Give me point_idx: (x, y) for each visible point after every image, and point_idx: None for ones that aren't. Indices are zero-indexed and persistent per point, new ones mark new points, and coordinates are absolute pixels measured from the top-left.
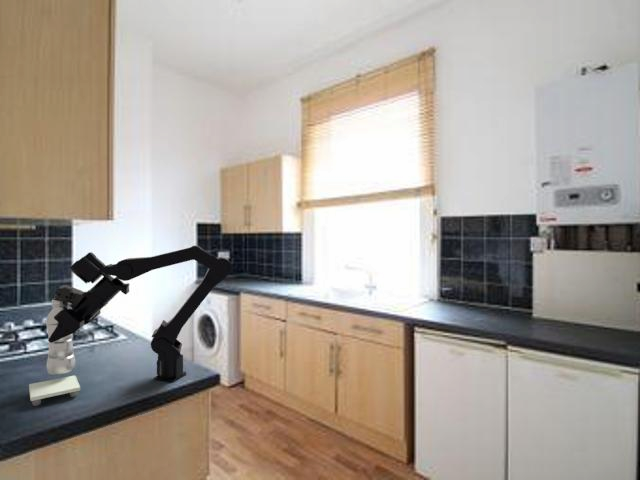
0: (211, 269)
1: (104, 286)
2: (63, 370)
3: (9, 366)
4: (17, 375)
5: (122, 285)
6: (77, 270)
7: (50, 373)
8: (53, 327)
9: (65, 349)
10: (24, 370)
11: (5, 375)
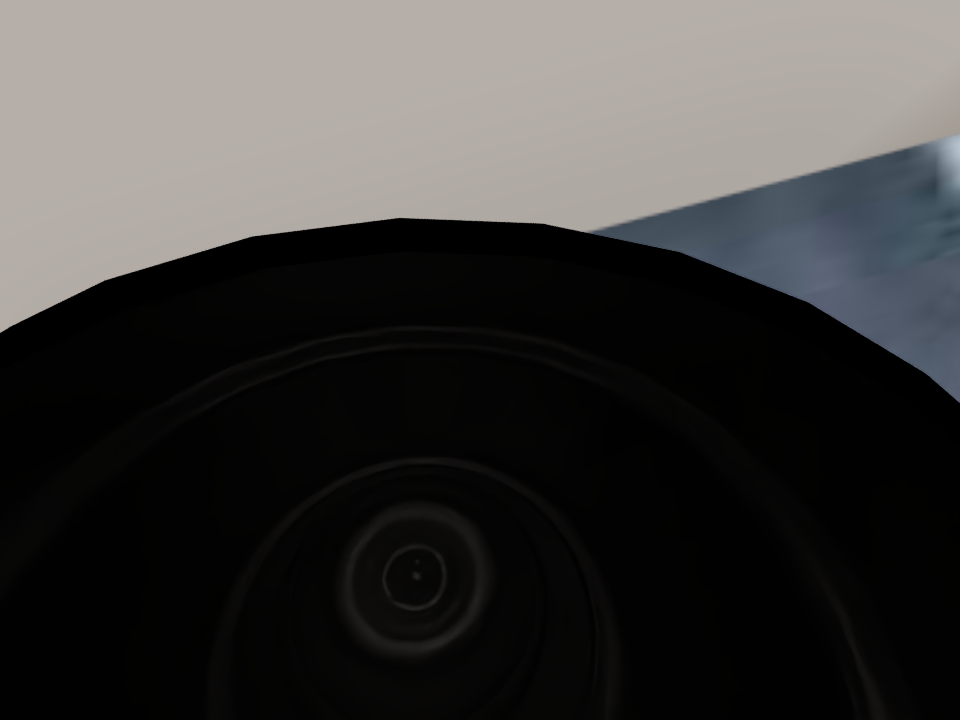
0: None
1: None
2: (308, 631)
3: (840, 181)
4: (691, 255)
5: None
6: None
7: (349, 513)
8: (7, 643)
9: (290, 713)
10: (767, 267)
11: (703, 201)
